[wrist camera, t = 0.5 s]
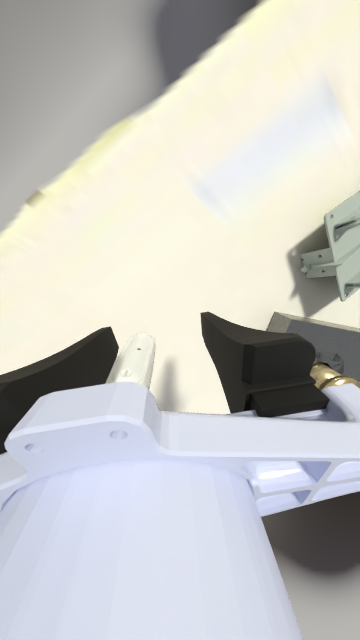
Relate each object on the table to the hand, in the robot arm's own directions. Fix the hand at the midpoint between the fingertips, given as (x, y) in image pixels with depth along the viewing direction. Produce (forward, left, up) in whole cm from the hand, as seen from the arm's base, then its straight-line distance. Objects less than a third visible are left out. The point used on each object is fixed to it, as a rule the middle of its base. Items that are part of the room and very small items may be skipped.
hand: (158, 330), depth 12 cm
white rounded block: (-10, +2, -11) cm, 15 cm away
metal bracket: (+13, -23, -11) cm, 29 cm away
